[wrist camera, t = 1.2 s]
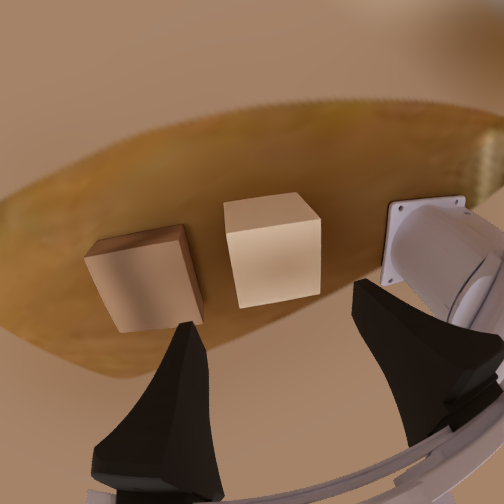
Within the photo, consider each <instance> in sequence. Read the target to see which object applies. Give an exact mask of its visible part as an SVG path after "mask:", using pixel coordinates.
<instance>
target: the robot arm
mask: <svg viewBox="0 0 504 504" xmlns="http://www.w3.org/2000/svg"><path fill="white" fill-rule="evenodd" d="M465 201H466V199H465V197H464V196H462V195H459V196H447V197H436V198H425V199H415V200H406V201H396V202H392V203H391V204H390V206H389V213H388V224H387V234H386V242H385V250H384V258H383V265H382V271H381V278H380V284H381V285H382V286H388V285H391V284H396V283H399V282H403V281H406V283H407V284H408V285H409V286H410V287H411V288H412V289H413V291H414V292H415V293H416V294H417V295H418V296H419V298H420V299H421V300H422V301H423V302H424V303H425V305H426V306H427V307H428V308H429V309H430V311H431V312H432V313H433V314H434V315H435V317H436V318H435V317H433V316H430V315H428V314H426V313H424V312H422V311H420V310H418V309H416V308H414V307H413V306H410V305H409V304H407V303H405V302H404V301H402V300H400V299H399V298H397V297H395V296H394V295H392V294H390V293H389V292H387V291H386V290H384V289H382V288H381V287H379V286H378V285H376V284H374V283H373V282H371V281H369V280H368V279H366V278H365V279H362V280H358V281H355V282H354V288H353V303H352V317H353V319H354V322H355V324H356V326H357V328H358V330H359V333H360V334H361V336H362V337H363V339H364V341H365V343H366V344H367V346H368V347H369V349H370V351H371V352H372V354H373V356H374V357H375V359H376V361H377V362H378V364H379V366H380V367H381V369H382V371H383V373H384V375H385V377H386V379H387V381H388V384H389V386H390V388H391V391H392V393H393V396H394V399H395V401H396V404H397V407H398V410H399V413H400V416H401V419H402V422H403V425H404V429H405V433H406V437H407V441H408V446H409V448H408V449H407V450H405V451H403V452H401V453H399V454H396V455H394V456H392V457H390V458H388V459H386V460H384V461H382V462H379V463H377V464H374V465H372V466H370V467H367V468H365V469H362V470H359V471H357V472H354V473H351V474H349V475H346V476H343V477H340V478H337V479H334V480H331V481H328V482H325V483H321V484H318V485H314V486H310V487H306V488H303V489H299V490H294V491H289V492H285V493H280V494H275V495H270V496H264V497H257V498H250V499H242V500H233V501H221V500H222V499H223V498H224V496H225V495H224V492H223V488H222V484H221V480H220V476H219V472H218V467H217V463H216V458H215V453H214V447H213V441H212V435H211V428H210V420H209V370H208V361H207V354H206V349H205V347H204V345H203V343H202V341H201V338H200V336H199V334H198V332H197V329H196V327H195V325H194V323H193V321H188V322H183V323H179V325H178V326H177V329H176V331H175V333H174V336H173V338H172V340H171V343H170V345H169V347H168V349H167V351H166V353H165V356H164V358H163V360H162V362H161V364H160V366H159V368H158V369H157V371H156V373H155V375H154V377H153V379H152V381H151V382H150V384H149V385H148V387H147V389H146V390H145V392H144V393H143V395H142V396H141V398H140V399H139V400H138V402H137V403H136V405H135V406H134V407H133V409H132V410H131V411H130V412H129V414H128V415H127V416H126V417H125V418H124V419H123V421H122V422H121V423H120V424H119V425H118V426H117V427H116V428H115V429H114V430H113V431H112V432H111V433H110V434H109V435H108V436H107V437H106V438H105V439H103V440H102V441H101V442H100V443H99V444H98V445H97V446H95V448H94V452H93V458H92V459H93V460H92V469H91V476H92V477H93V478H94V479H95V480H97V481H99V482H101V483H103V484H105V485H107V486H110V487H112V488H114V489H116V490H117V495H114V494H110V493H105V492H100V491H94V490H89V489H88V490H87V503H86V504H308V503H312V502H316V501H319V500H323V499H327V498H330V497H333V496H336V495H339V494H342V493H345V492H348V491H351V490H354V489H356V488H359V487H362V486H364V485H367V484H369V483H372V482H374V481H376V480H379V479H381V478H383V477H386V476H388V475H390V474H392V473H394V472H396V471H398V470H400V469H402V468H404V467H406V466H408V465H410V464H412V463H414V462H416V461H418V460H419V459H421V458H423V457H425V456H426V455H427V456H426V459H424V460H423V461H421V462H419V463H418V464H416V465H414V466H413V467H411V468H409V469H407V471H406V472H404V473H403V474H402V475H400V476H399V477H397V478H395V479H394V480H393V481H394V484H395V486H396V487H395V488H393V489H391V490H389V491H386V492H384V493H382V494H380V495H377V496H375V497H373V498H370V499H368V500H365V501H363V502H360V503H357V504H456V503H455V500H454V498H453V495H452V493H451V491H450V490H451V489H452V488H454V487H455V486H456V485H458V484H459V483H460V482H462V481H463V480H464V479H465V478H467V477H468V476H469V475H470V474H472V473H473V472H474V471H475V470H476V469H477V468H479V467H480V466H481V465H482V464H483V463H484V462H485V461H486V460H488V459H489V458H490V457H491V456H492V455H493V454H494V453H495V452H496V451H497V450H498V449H499V448H500V447H501V446H502V445H503V444H504V232H503V231H501V230H500V229H499V228H497V227H496V226H494V225H493V224H491V223H490V222H488V221H486V220H485V219H483V218H482V217H480V216H479V215H477V214H475V213H474V212H472V211H470V210H469V209H467V208H465ZM400 206H401V208H400V209H399V207H400ZM220 501H221V502H220Z"/></svg>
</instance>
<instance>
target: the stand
mask: <svg viewBox="0 0 504 504" xmlns="http://www.w3.org/2000/svg"><path fill="white" fill-rule="evenodd" d="M84 260H85V262H86V265H87V267H88V269H89V272H90V274H91V276H92V278H93V281H94V283H95V285H96V287H97V289H98V291H99V293H100V295H101V298H102V300H103V302H104V304H105V306H106V308H107V309H108V311H109V313H110V315H111V317H112V319H113V321H114V323H115V325H116V326H117V328H118V330H119V332H120V333H123V332H135V331H146V330H156V329H165V328H174V327H177V326H178V325H179V323H183V322H188V321H193V323H194V325H198V324H203V310H204V302H203V299H202V295H201V292H200V288H199V284H198V281H197V277H196V273H195V270H194V266H193V262H192V258H191V255H190V251H189V247H188V243H187V239H186V235H185V231H184V227H183V224H180V225H174V226H169V227H164V228H158V229H153V230H148V231H143V232H138V233H133V234H128V235H123V236H118V237H114V238H109V239H104V240H100V241H96V242H95V243H94V245H93V246H92V247H91V249H90V250H89V251H88V253H87V254H86V255H85V257H84Z"/></svg>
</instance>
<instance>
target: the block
mask: <svg viewBox="0 0 504 504" xmlns="http://www.w3.org/2000/svg"><path fill="white" fill-rule="evenodd" d="M224 217H225V230H226V237H227V243H228V249H229V254H230V259H231V265H232V270H233V276H234V281H235V286H236V292H237V297H238V302H239V307H240V308H246V307H252V306H258V305H264V304H269V303H275V302H280V301H286V300H291V299H297V298H302V297H307V296H312V295H317V294H320V279H321V219H320V217H319V216H318V215H317V214H316V213H315V212H314V211H313V210H312V208H311V207H310V206H309V205H308V204H307V203H306V202H305V201H304V200H303V199H302V197H301V196H300V195H299V194H298V193H297V192H293V193H285V194H278V195H270V196H263V197H256V198H249V199H243V200H236V201H230V202H224Z"/></svg>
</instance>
